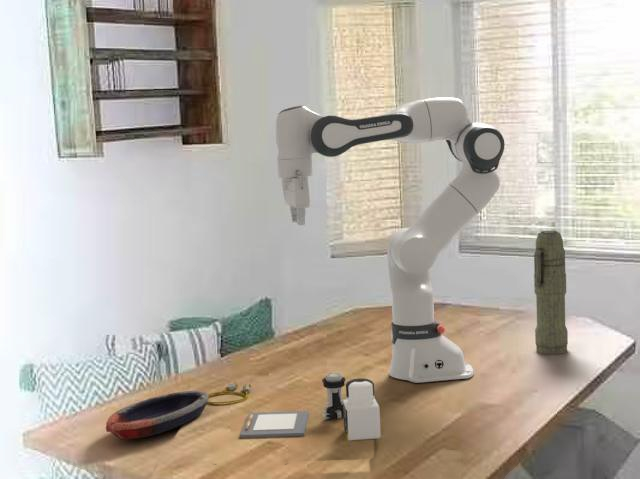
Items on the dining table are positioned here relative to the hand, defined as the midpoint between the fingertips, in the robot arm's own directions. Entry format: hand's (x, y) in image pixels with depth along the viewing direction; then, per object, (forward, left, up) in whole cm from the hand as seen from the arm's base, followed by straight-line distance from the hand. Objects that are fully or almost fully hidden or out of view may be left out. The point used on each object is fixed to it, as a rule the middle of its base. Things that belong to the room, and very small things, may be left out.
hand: (298, 223), depth 231 cm
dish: (+33, +30, -43) cm, 62 cm away
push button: (-8, +30, -43) cm, 53 cm away
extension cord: (+19, +9, -43) cm, 48 cm away
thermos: (-69, -24, -43) cm, 85 cm away
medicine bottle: (-15, +42, -43) cm, 62 cm away
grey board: (+5, +34, -43) cm, 54 cm away
